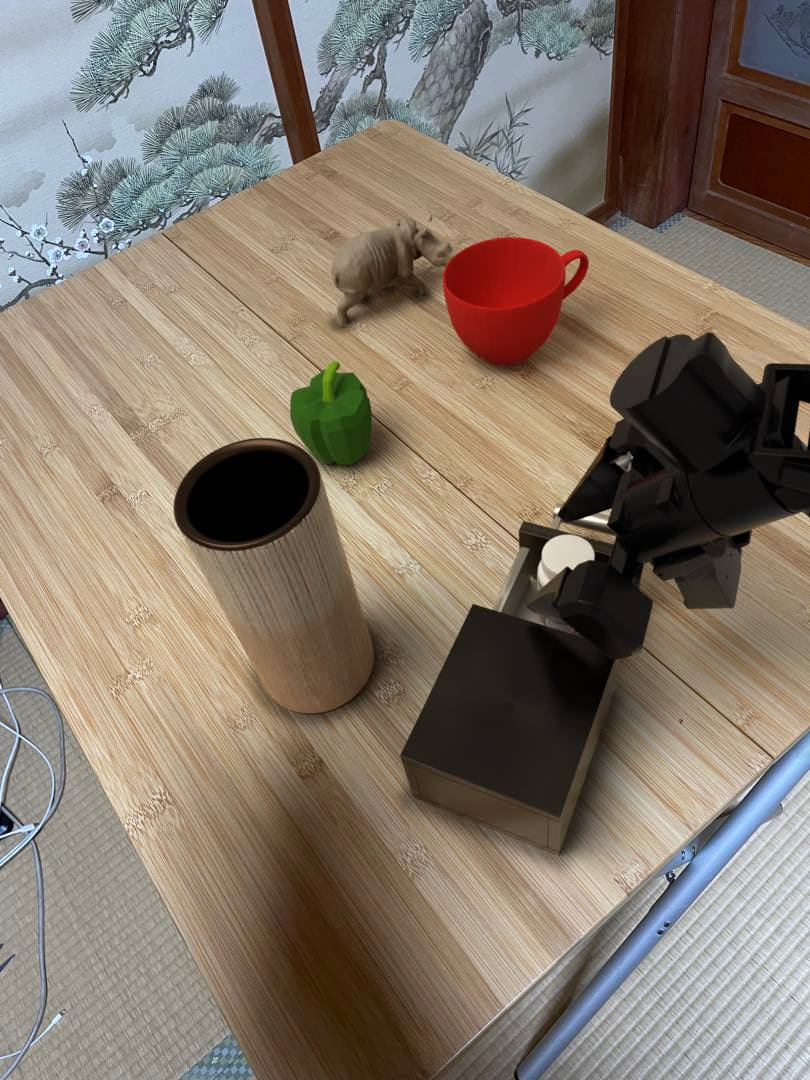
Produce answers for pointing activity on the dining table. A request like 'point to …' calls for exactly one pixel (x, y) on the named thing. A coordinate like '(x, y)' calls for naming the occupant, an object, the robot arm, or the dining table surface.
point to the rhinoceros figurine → (384, 262)
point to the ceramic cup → (508, 296)
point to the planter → (278, 570)
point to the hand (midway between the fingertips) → (546, 561)
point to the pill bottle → (561, 568)
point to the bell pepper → (333, 416)
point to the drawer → (530, 555)
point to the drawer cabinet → (511, 726)
